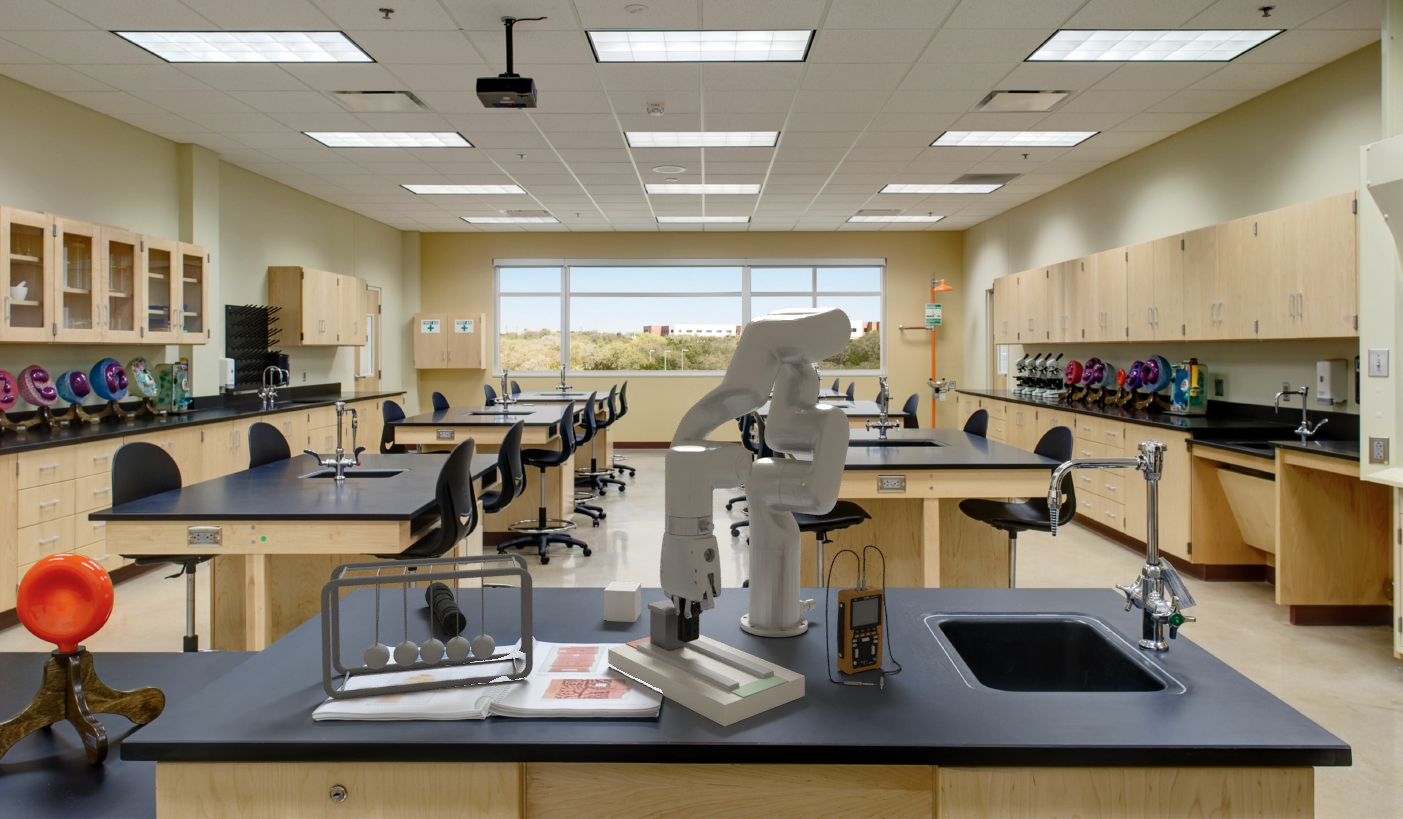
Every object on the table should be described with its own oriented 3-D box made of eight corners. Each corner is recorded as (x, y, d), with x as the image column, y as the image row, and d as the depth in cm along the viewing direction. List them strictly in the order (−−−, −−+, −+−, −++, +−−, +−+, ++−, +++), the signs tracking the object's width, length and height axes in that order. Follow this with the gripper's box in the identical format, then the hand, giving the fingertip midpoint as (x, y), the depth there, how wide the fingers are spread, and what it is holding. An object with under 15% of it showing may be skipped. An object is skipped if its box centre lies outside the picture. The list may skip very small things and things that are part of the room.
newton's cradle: (322, 701, 120) (319, 581, 119) (333, 675, 130) (330, 563, 129) (533, 680, 128) (532, 567, 127) (527, 656, 138) (527, 551, 137)
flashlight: (449, 604, 168) (449, 580, 168) (469, 635, 149) (468, 608, 149) (424, 607, 166) (423, 582, 165) (440, 639, 147) (440, 611, 147)
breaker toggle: (669, 638, 138) (670, 598, 138) (687, 646, 134) (687, 605, 134) (647, 644, 135) (647, 603, 135) (665, 652, 132) (665, 610, 131)
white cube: (604, 621, 157) (603, 590, 157) (611, 611, 163) (611, 581, 163) (635, 622, 157) (635, 591, 156) (641, 612, 163) (641, 582, 162)
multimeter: (856, 697, 123) (859, 564, 121) (817, 674, 132) (819, 549, 130) (932, 680, 129) (935, 553, 128) (889, 659, 138) (892, 540, 137)
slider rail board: (684, 645, 144) (684, 623, 144) (804, 695, 123) (804, 670, 123) (608, 667, 134) (608, 644, 134) (724, 726, 113) (724, 699, 112)
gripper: (739, 529, 127) (738, 646, 128) (676, 515, 138) (675, 623, 139) (703, 536, 122) (702, 658, 123) (640, 521, 133) (640, 633, 134)
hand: (688, 639), depth 131 cm, fingers closed
